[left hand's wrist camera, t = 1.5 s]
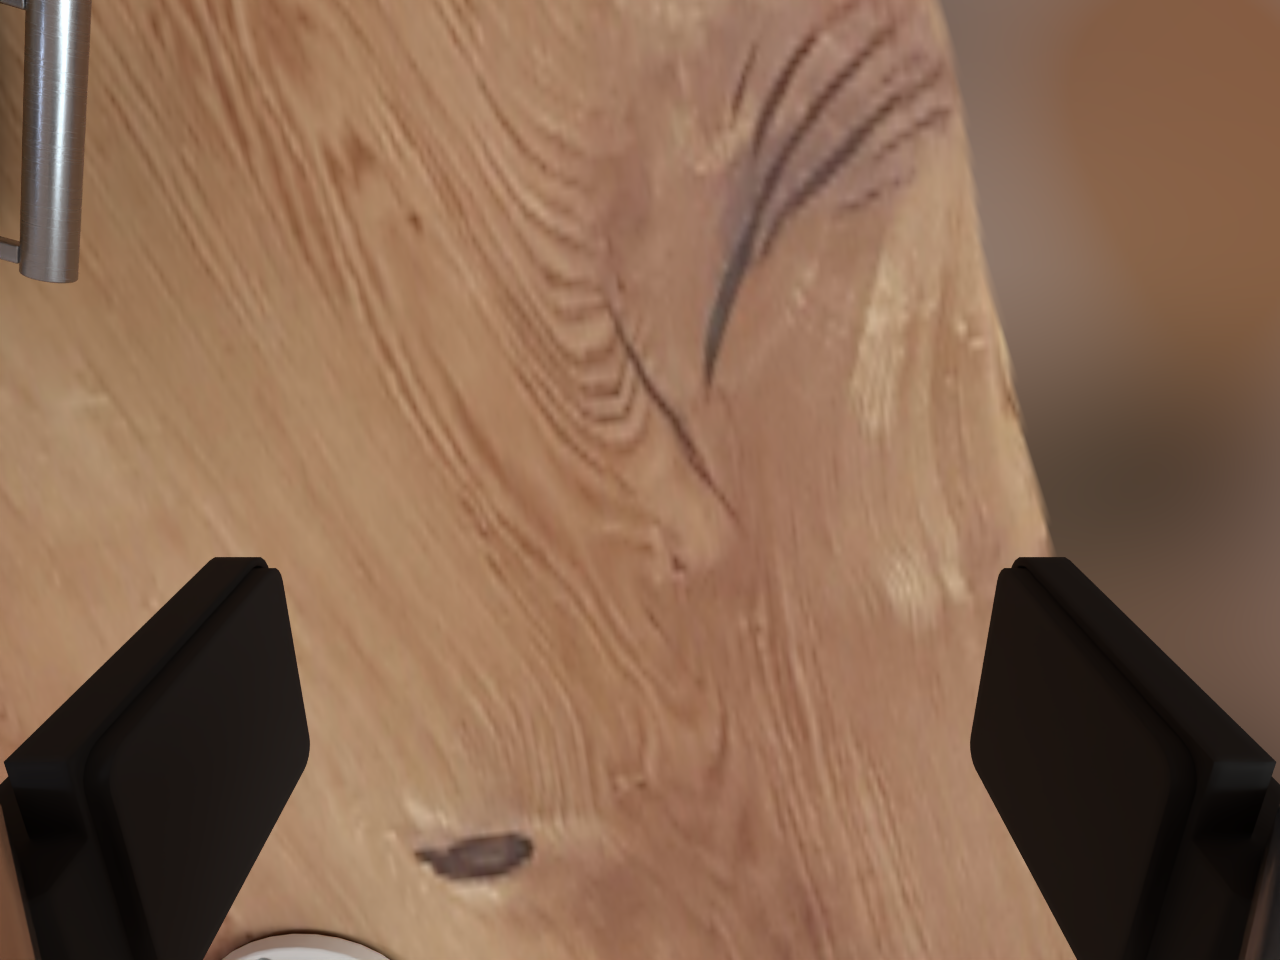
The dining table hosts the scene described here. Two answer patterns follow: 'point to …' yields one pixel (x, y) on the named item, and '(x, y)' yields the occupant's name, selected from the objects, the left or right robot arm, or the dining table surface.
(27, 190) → the drawer
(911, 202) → the dining table surface
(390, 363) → the dining table surface
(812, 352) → the dining table surface
